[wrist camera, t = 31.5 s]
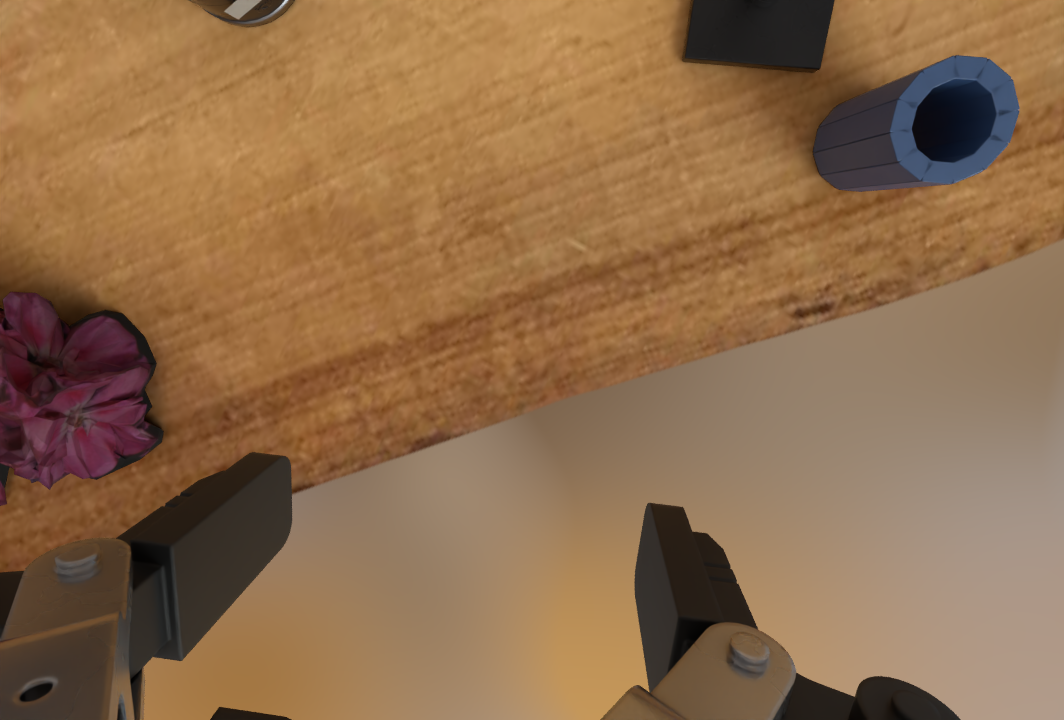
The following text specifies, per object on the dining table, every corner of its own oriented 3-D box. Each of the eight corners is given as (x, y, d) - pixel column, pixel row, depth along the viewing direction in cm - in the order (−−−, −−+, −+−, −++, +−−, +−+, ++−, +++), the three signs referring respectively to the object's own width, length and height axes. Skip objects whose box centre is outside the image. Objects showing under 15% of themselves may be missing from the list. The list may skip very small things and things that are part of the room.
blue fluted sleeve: (804, 186, 40) (878, 177, 30) (825, 92, 38) (909, 50, 28) (893, 195, 39) (996, 188, 30) (918, 100, 38) (1035, 61, 28)
